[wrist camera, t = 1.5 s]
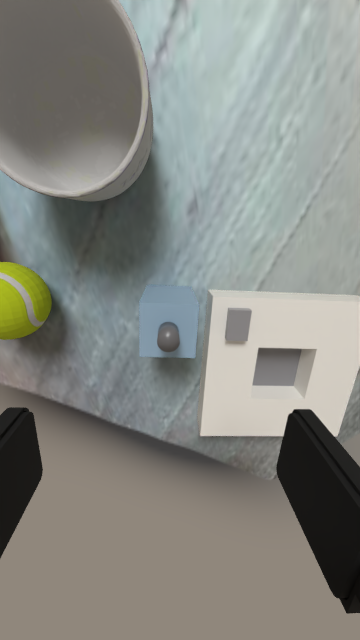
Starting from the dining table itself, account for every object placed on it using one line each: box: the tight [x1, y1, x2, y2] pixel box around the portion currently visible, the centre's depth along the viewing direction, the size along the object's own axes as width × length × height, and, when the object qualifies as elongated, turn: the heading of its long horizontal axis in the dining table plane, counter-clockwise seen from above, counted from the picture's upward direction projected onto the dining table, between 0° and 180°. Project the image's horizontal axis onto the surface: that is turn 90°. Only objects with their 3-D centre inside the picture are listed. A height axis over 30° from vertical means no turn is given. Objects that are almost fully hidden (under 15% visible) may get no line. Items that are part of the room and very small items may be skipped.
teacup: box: [0, 0, 153, 201], centre depth 17 cm, size 14×11×8 cm
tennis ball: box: [0, 262, 52, 340], centre depth 22 cm, size 7×7×7 cm
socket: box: [197, 290, 360, 436], centre depth 27 cm, size 16×16×4 cm
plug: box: [139, 285, 199, 358], centre depth 22 cm, size 4×4×9 cm
